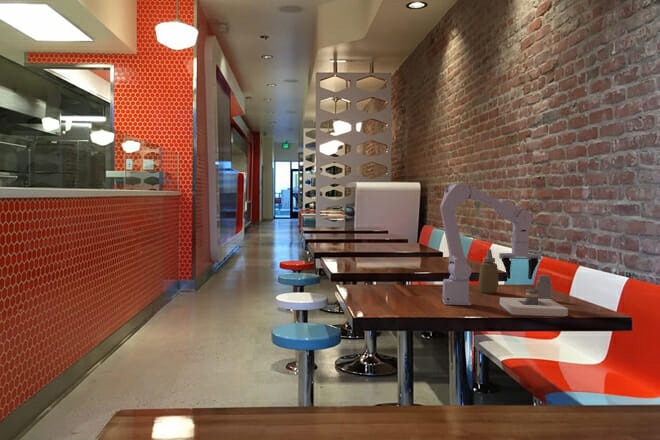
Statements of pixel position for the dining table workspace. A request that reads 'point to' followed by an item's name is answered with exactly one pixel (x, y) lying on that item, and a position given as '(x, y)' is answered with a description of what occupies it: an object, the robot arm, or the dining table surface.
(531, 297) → the grey spice jar
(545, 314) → the board
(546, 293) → the power adapter
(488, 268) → the squeeze bottle
